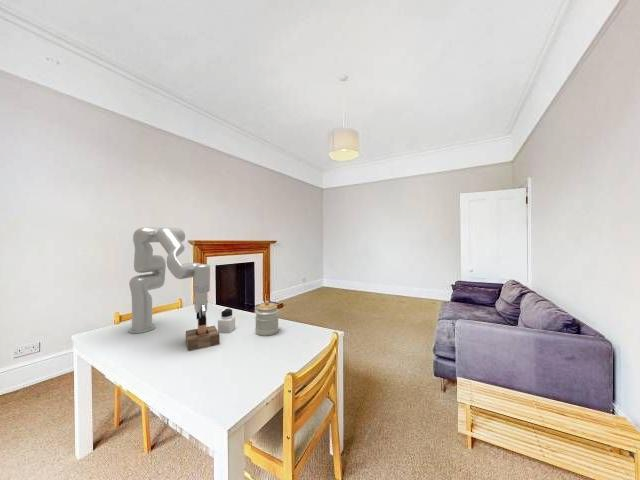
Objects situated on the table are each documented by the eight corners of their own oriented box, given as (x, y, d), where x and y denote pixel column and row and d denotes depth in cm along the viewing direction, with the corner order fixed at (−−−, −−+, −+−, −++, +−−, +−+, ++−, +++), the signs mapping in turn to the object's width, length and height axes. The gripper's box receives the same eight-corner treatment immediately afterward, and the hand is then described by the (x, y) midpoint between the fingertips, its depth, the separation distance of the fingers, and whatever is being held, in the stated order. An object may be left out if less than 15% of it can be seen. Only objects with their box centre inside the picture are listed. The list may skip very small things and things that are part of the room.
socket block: (185, 340, 128) (185, 330, 128) (214, 334, 136) (214, 325, 136) (188, 351, 116) (187, 340, 116) (219, 344, 124) (219, 334, 124)
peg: (197, 341, 127) (197, 318, 126) (205, 340, 129) (205, 317, 129) (198, 344, 123) (198, 320, 123) (207, 342, 125) (206, 319, 125)
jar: (276, 336, 134) (276, 304, 133) (252, 336, 134) (252, 303, 134) (280, 327, 147) (280, 297, 146) (258, 327, 147) (258, 297, 147)
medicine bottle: (235, 328, 145) (235, 308, 145) (229, 333, 138) (229, 311, 138) (223, 327, 146) (223, 307, 146) (217, 332, 139) (217, 311, 139)
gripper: (191, 285, 131) (191, 317, 131) (195, 293, 116) (194, 329, 117) (207, 284, 135) (206, 315, 135) (212, 291, 120) (211, 326, 121)
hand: (201, 321), depth 126 cm, fingers open, 9 cm apart
